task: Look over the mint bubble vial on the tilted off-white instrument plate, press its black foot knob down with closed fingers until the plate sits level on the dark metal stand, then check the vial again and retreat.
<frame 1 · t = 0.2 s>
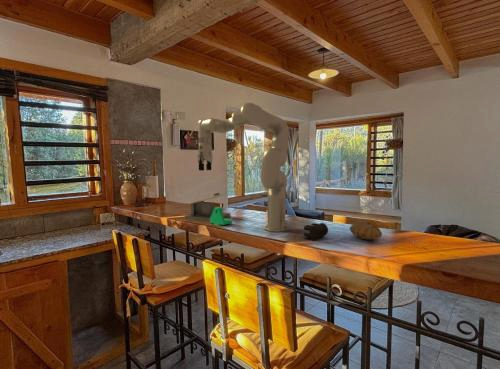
hand: (205, 170, 167), 31 cm above the table, tool pointing down, fingers open, 9 cm apart
camera mount: (221, 224, 163), on the table
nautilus: (368, 238, 131), on the table
leveling stand: (208, 217, 183), on the table
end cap: (315, 239, 130), on the table
level plate: (207, 197, 182), point 13 cm above the table, hinge at 14.0°
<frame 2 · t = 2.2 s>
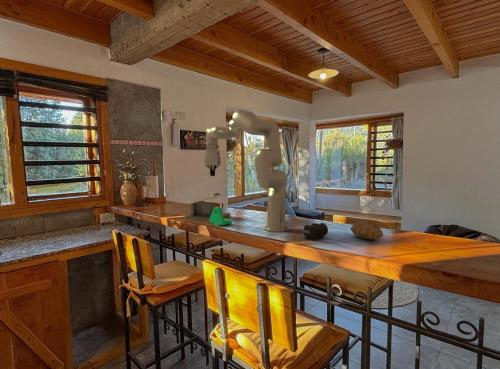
hand: (212, 176, 183), 27 cm above the table, tool pointing down, fingers closed
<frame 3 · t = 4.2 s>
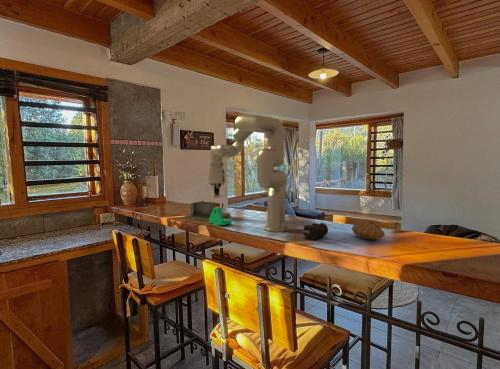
hand: (216, 193, 179), 16 cm above the table, tool pointing down, fingers closed
level plate: (208, 197, 182), point 13 cm above the table, hinge at 11.8°, touching gripper
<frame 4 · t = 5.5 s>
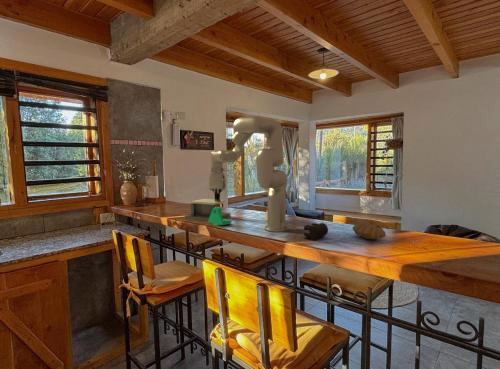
hand: (217, 199, 179), 12 cm above the table, tool pointing down, fingers closed
level plate: (208, 200, 182), point 11 cm above the table, hinge at -0.3°, touching gripper
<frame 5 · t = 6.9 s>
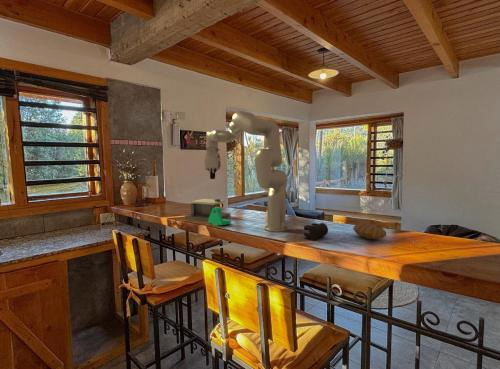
hand: (212, 178, 183), 25 cm above the table, tool pointing down, fingers closed
level plate: (208, 200, 182), point 11 cm above the table, hinge at -0.3°
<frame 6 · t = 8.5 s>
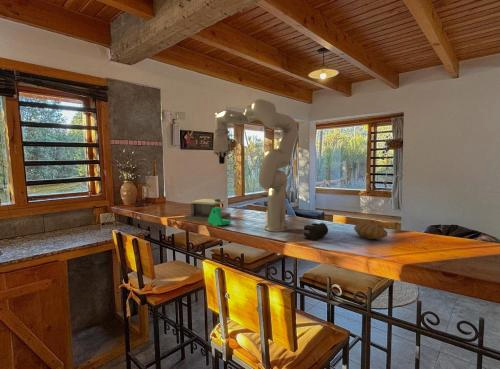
hand: (221, 163, 170), 35 cm above the table, tool pointing down, fingers closed
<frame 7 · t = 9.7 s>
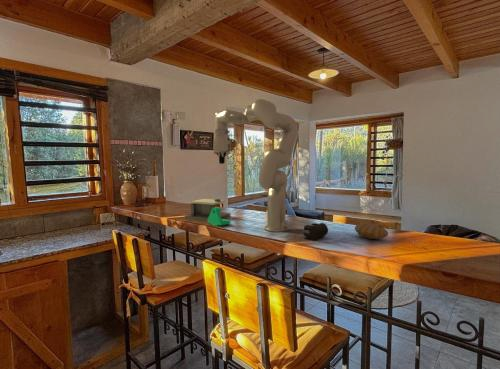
hand: (221, 163, 170), 35 cm above the table, tool pointing down, fingers closed
at the end: level plate at +0° (first picture: +14°); the gripper is holding nothing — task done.
